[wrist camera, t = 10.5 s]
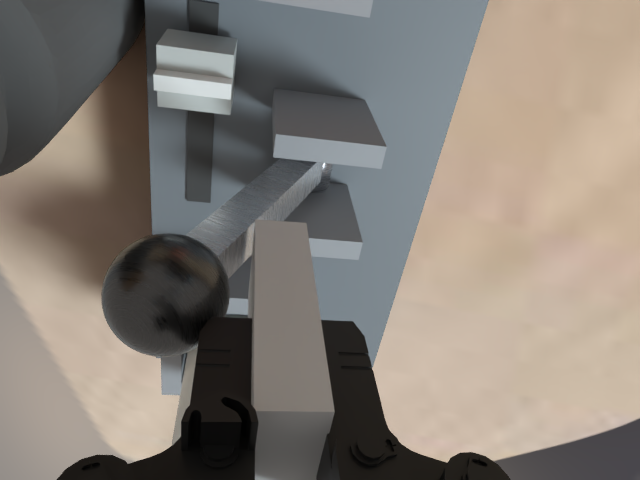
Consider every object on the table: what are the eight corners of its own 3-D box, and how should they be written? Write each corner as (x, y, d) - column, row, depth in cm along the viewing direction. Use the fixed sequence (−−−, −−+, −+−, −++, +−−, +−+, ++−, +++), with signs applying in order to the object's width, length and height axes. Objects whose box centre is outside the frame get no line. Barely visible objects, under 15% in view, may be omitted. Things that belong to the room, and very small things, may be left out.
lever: (292, 107, 20) (64, 255, 11) (362, 128, 20) (186, 305, 10) (283, 174, 22) (79, 353, 12) (348, 195, 21) (184, 402, 12)
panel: (155, -279, 16) (84, -384, 10) (514, -194, 17) (644, -237, 11) (165, 319, 30) (139, 429, 23) (364, 329, 31) (387, 434, 25)
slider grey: (167, 28, 18) (152, 49, 15) (237, 38, 18) (233, 60, 16) (168, 85, 19) (154, 112, 16) (233, 93, 19) (229, 121, 17)
